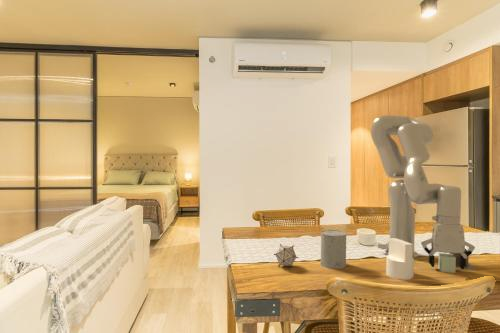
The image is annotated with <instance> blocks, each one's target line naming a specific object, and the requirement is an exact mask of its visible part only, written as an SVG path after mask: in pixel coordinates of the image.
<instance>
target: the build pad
mask: <svg viewBox="0 0 500 333" xmlns="http://www.w3.org/2000/svg"><path fill="white" fill-rule="evenodd" d="M456 269H460V270H462V269H461V268H460V267H456ZM464 270H474V271H476V270H477V269H476V268H475V267H474V266H473V265H472V264H471V263H469V262H468V267H464Z"/></svg>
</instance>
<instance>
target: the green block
mask: <svg viewBox="0 0 500 333" xmlns="http://www.w3.org/2000/svg"><path fill="white" fill-rule="evenodd" d="M437 267H438V270H439V271H440V272H441V273H452V274H456V270H457V268H456V257H455V256H454V255H453V254H450V253H444V252H438V266H437Z"/></svg>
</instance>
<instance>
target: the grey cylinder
mask: <svg viewBox="0 0 500 333" xmlns="http://www.w3.org/2000/svg"><path fill="white" fill-rule="evenodd" d="M347 234H348V233H347V232H345V231H343V230H335V229H327V230H326V229H325V230H322V231H320V266H322V267H323V268H326V269H332V270H340V269H344V268H346V267H347V264H346V263H347Z"/></svg>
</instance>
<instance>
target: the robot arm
mask: <svg viewBox="0 0 500 333" xmlns="http://www.w3.org/2000/svg"><path fill="white" fill-rule="evenodd" d="M370 136H371V139H372V141H373V143H374V145H375V149H376V150H377V152H378V156H379V159H380V161H381V165H382V168H383V170H384V172H385V175H386V176H387V177H388V178H391V179H396V180H394V181H392V182H391V183H390V184H389V186H388V189H387V194H388V200H389V212H390V213H389V214H390V215H389V239H390V238H397V239H400V240H403V241H406V242H408V243H411V244H413V253H412V258H413V259H414V260H415V259H418V257H419V253H418V252H416V251H415V237H416V236H415V235H416V234H415V231H416V230H415V229H416V227H415V226H416V214H415V213H416V212H415V209H414V206H413V205H412V203H414V204H417V205H425V204H426V205H428V204H436V215H435V216H434V215H433V216H432V217H431V220H432V221H435V222H434V224H433V228H432V233H431V238H428V239H427V240H426V239H425V240H423V241H421V242H420V244H421V246H422V248H423V250H424V251H425V252H426V253H427V254H428V264H429V265H430V266H431V267H432V268H434V267H435V258H436V257H435V256H434V255H435V254H436V253H447V254H450V253H458V254H461V256H460V261H459V267H460V268H461V269H460V270H465V269H464V267H466V258H467V257H468V256H471V255H472V253H473V252H474V250H475V249H476V246H474V245H473V244H471V243H470V242H468V241H465V229H464V226H463V225H462V224H461V212H462V211H461V210H462V209H461V208H462V206H461V205H462V189H461V188H460V187H459V186H455V185H445V184H442V183H429V181H428V178H427V176H426V172H425V170H424V168H423V164H424V163H426V162H428V160H430V157H431V156H430V153H429V150H428V148H427V145H426V144H429V143H431V141H432V139H433V136H434V133H433V129H432V128H431V127H430V126H429V125H428V124H427V123H425V122H422V121H420V120H417V119H415V118H413V117H409V116H406V115H405V116H404V115H389V114H387V115H386V114H385V115H381V116H378V117H376V118H375V119H374V120H373V122H372V123H371V127H370ZM391 136H397V138H398V141H399V144H400V146H401V149H402V151H403V154H402V152H401V151H400V146H399V145H398V143H397V142H396V141H395V140H394V139H393V138H392V137H391ZM429 244H430V245H431V247H430V249H429V248H428V245H429ZM466 248H467V249H466ZM377 249H381V250H385V252H384V253H385V254H386V256H388V255H389V241H388V242H387V243H384V244H383V243H377ZM465 249H466V250H467V251H466V252H464V251H465Z"/></svg>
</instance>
